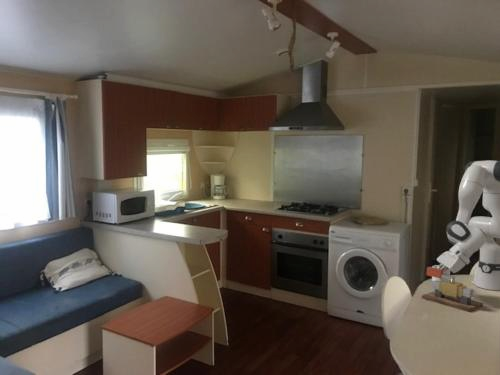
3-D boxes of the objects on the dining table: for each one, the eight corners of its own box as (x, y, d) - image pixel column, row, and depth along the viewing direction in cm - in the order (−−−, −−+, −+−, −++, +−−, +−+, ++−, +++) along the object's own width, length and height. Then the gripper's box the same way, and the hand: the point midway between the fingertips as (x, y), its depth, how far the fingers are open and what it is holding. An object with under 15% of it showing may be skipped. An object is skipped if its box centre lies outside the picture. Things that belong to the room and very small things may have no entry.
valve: (436, 293, 207) (437, 277, 206) (473, 303, 193) (474, 286, 192) (430, 295, 203) (431, 279, 203) (468, 306, 189) (469, 288, 188)
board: (435, 293, 212) (436, 290, 212) (482, 306, 194) (482, 303, 194) (421, 298, 204) (421, 295, 204) (469, 311, 186) (469, 308, 185)
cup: (447, 292, 214) (448, 270, 214) (428, 289, 220) (430, 267, 219) (450, 288, 222) (451, 267, 221) (433, 285, 227) (434, 264, 226)
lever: (455, 281, 198) (456, 272, 197) (453, 282, 196) (453, 273, 196) (429, 275, 208) (429, 266, 208) (426, 276, 206) (426, 267, 206)
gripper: (446, 245, 215) (426, 263, 217) (462, 253, 195) (440, 273, 197) (455, 254, 215) (435, 271, 217) (471, 263, 195) (449, 282, 196)
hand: (437, 272), depth 206 cm, fingers closed
